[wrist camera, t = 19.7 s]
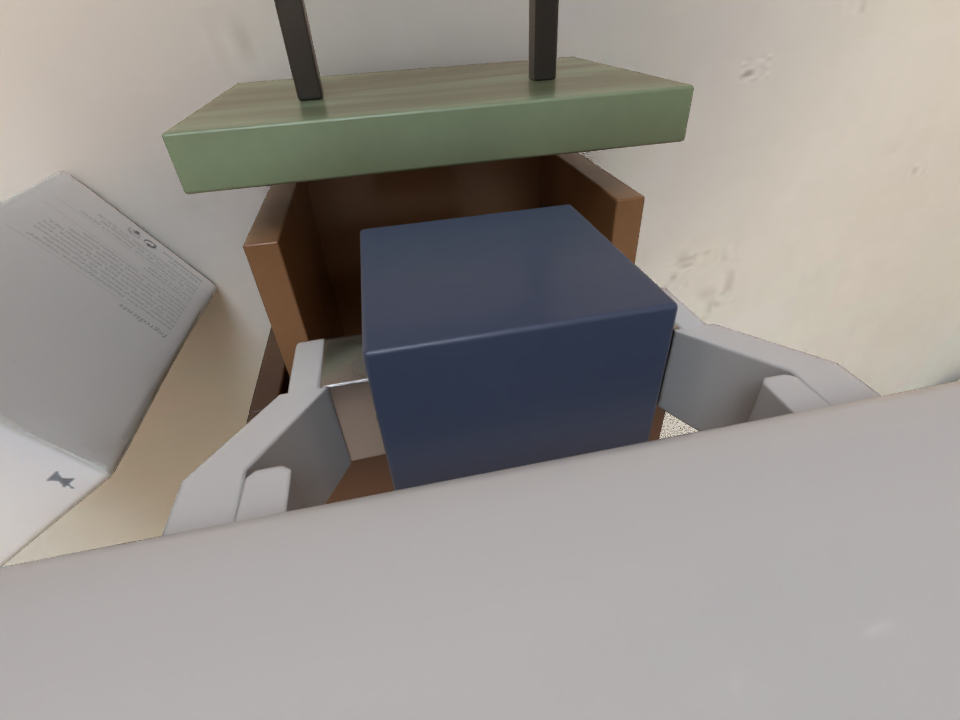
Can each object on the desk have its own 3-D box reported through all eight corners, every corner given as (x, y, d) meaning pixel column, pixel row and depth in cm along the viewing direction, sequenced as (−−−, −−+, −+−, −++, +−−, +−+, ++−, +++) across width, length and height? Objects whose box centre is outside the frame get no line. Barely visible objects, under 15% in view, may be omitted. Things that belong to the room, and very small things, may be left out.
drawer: (172, -130, 13) (1, -255, 7) (584, -140, 14) (758, -248, 8) (332, 399, 24) (323, 538, 18) (556, 362, 25) (621, 477, 19)
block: (359, 228, 10) (361, 353, 6) (570, 202, 11) (681, 303, 7) (392, 396, 13) (407, 551, 9) (560, 368, 13) (636, 502, 10)
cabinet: (284, 274, 21) (242, 432, 13) (569, 237, 22) (679, 357, 15) (353, 495, 29) (353, 667, 22) (555, 456, 31) (620, 603, 23)
